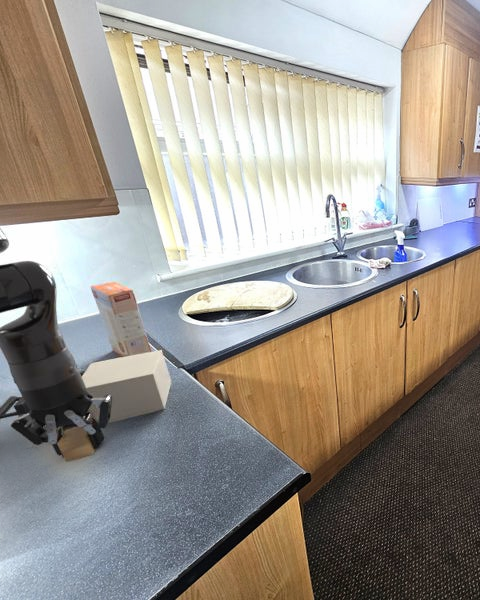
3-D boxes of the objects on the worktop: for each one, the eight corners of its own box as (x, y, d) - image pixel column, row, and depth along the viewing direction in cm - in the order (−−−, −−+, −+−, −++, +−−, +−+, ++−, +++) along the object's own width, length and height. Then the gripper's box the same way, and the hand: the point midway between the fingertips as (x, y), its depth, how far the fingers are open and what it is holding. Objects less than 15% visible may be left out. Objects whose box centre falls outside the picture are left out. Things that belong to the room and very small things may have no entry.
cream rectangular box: (88, 428, 69) (71, 391, 66) (104, 397, 79) (91, 362, 75) (164, 409, 75) (153, 373, 71) (171, 382, 84) (161, 349, 81)
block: (65, 461, 61) (56, 443, 60) (74, 446, 64) (65, 429, 63) (93, 454, 63) (85, 436, 61) (100, 440, 66) (92, 422, 64)
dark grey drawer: (-5, 446, 63) (-24, 414, 61) (23, 413, 72) (7, 383, 69) (108, 418, 71) (96, 388, 68) (121, 391, 79) (110, 363, 76)
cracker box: (154, 355, 96) (133, 289, 89) (130, 365, 92) (106, 295, 84) (135, 342, 104) (115, 280, 96) (112, 350, 99) (88, 285, 91)
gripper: (106, 356, 63) (132, 425, 70) (4, 375, 57) (43, 449, 64) (93, 376, 57) (123, 450, 63) (-23, 399, 51) (23, 479, 57)
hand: (82, 449), depth 63 cm, fingers closed on block, 4 cm apart
